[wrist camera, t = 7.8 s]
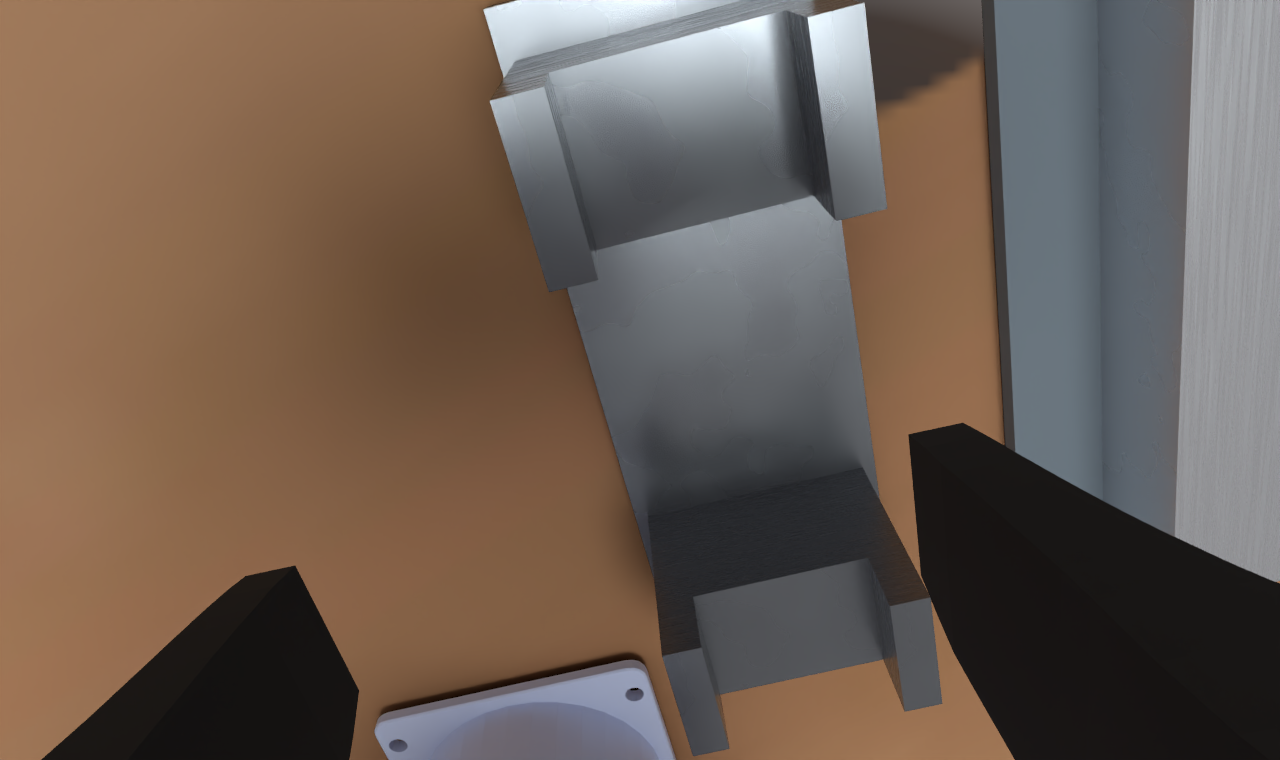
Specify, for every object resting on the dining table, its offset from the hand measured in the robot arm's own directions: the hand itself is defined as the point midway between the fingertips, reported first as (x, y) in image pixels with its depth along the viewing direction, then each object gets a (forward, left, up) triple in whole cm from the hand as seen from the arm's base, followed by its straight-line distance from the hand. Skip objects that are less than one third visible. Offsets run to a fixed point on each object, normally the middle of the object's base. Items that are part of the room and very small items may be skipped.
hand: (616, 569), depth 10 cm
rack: (-2, -2, -10) cm, 11 cm away
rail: (-2, -11, -8) cm, 14 cm away
